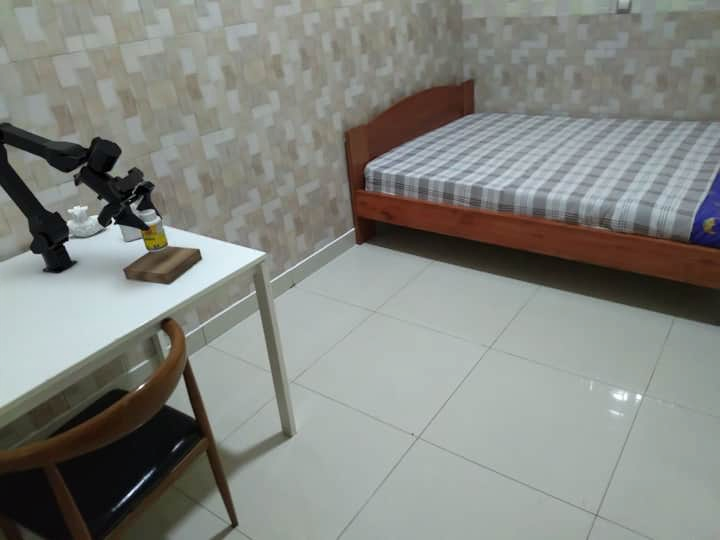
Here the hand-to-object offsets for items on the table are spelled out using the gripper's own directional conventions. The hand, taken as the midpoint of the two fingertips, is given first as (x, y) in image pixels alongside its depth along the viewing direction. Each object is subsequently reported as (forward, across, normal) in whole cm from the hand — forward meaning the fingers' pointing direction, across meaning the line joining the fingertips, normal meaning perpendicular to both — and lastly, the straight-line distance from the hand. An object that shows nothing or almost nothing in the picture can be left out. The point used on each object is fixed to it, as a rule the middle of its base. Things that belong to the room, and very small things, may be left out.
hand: (155, 224), depth 131 cm
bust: (-20, +22, +39) cm, 48 cm away
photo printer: (-6, +20, +24) cm, 32 cm away
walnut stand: (+8, 0, +10) cm, 13 cm away
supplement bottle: (+4, 0, +6) cm, 7 cm away
